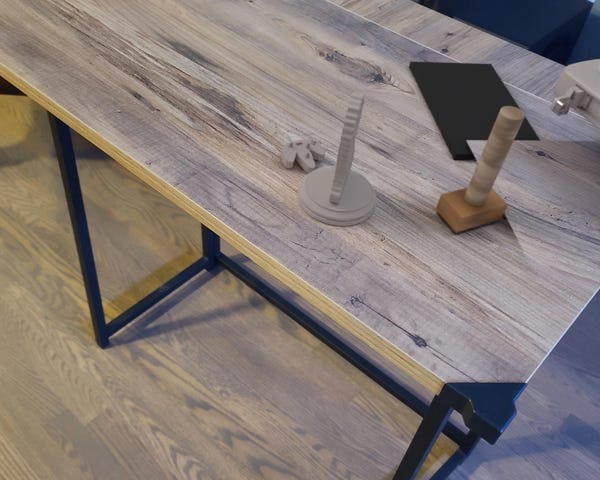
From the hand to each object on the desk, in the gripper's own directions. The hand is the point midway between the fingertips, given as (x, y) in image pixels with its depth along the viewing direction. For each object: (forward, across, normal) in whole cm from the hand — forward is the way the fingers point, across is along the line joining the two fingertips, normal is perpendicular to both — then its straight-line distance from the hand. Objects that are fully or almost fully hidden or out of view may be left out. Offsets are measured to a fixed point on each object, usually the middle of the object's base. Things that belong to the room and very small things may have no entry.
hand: (582, 128), depth 70 cm
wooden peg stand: (+13, 0, -11) cm, 16 cm away
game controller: (+27, +20, -11) cm, 36 cm away
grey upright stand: (+27, +9, -11) cm, 30 cm away
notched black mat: (-3, +20, -11) cm, 23 cm away
